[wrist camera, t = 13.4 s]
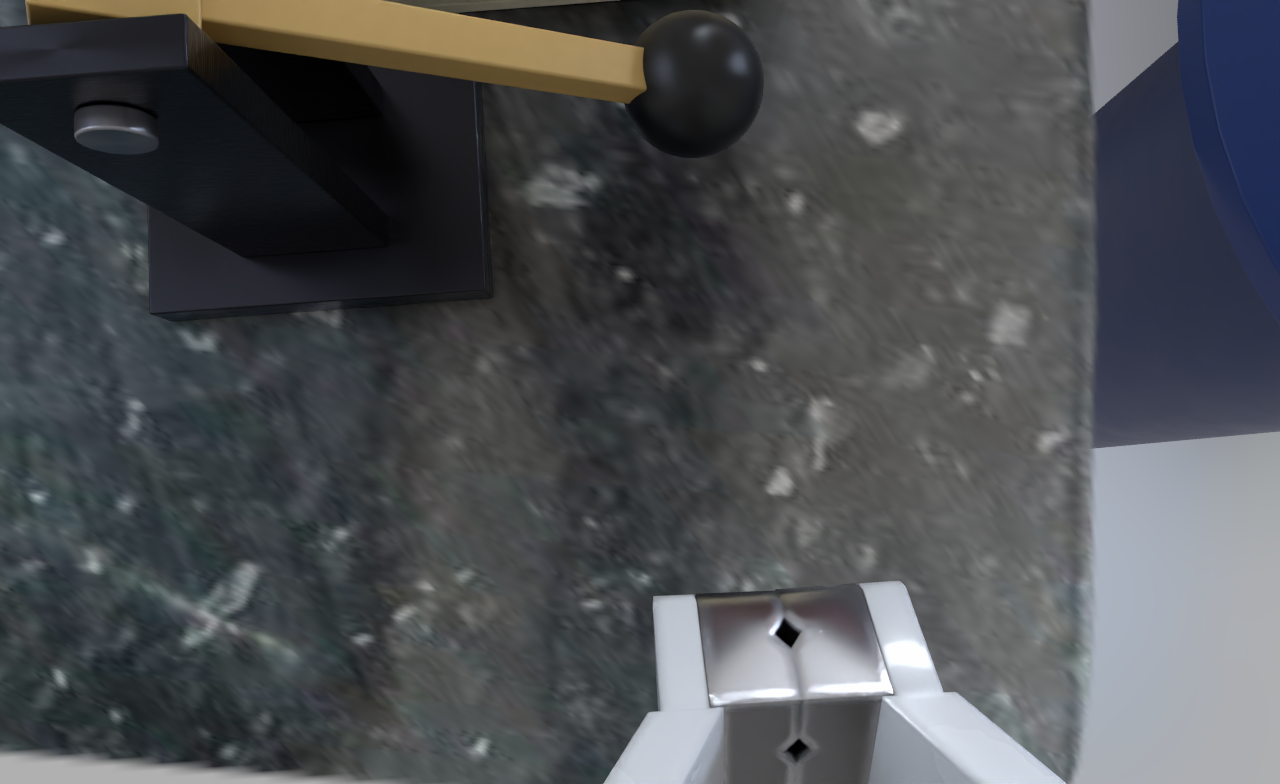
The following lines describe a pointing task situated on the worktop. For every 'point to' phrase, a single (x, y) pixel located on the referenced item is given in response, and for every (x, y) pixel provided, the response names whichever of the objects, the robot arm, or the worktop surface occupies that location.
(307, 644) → the worktop surface
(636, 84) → the tap lever
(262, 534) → the worktop surface
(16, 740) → the worktop surface
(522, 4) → the cream wooden tray
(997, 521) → the worktop surface
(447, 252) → the bracket
